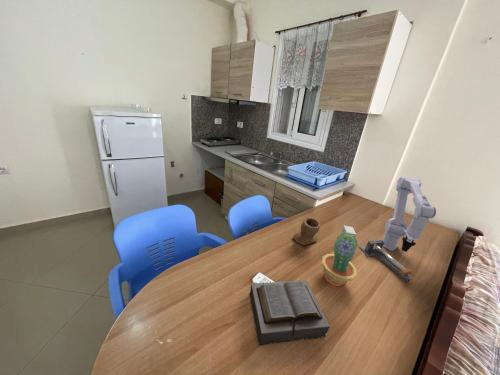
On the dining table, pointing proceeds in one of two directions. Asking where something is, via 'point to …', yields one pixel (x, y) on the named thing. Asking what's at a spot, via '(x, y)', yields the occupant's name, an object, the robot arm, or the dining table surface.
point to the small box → (348, 230)
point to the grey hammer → (382, 257)
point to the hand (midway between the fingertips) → (405, 247)
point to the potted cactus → (341, 260)
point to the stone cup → (307, 231)
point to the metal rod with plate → (394, 262)
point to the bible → (286, 312)
